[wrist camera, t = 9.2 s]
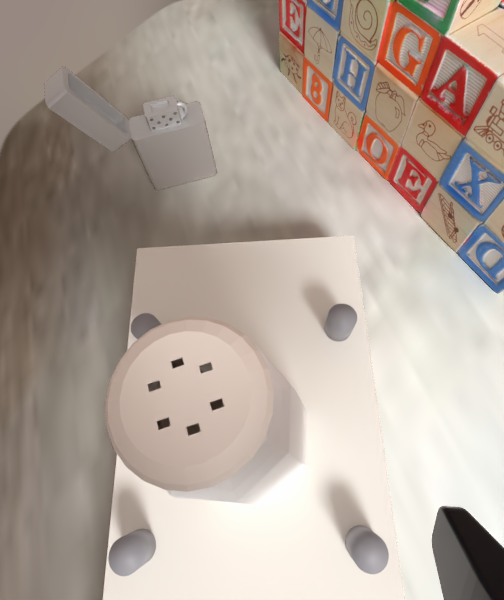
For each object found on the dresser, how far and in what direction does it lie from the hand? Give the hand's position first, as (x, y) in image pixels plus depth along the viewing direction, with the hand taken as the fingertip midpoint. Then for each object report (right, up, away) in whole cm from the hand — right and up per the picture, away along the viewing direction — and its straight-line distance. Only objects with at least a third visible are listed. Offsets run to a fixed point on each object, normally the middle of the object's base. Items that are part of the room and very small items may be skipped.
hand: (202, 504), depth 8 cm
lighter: (-5, +12, +18) cm, 22 cm away
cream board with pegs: (+1, -4, +11) cm, 12 cm away
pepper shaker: (+1, -2, +9) cm, 9 cm away
